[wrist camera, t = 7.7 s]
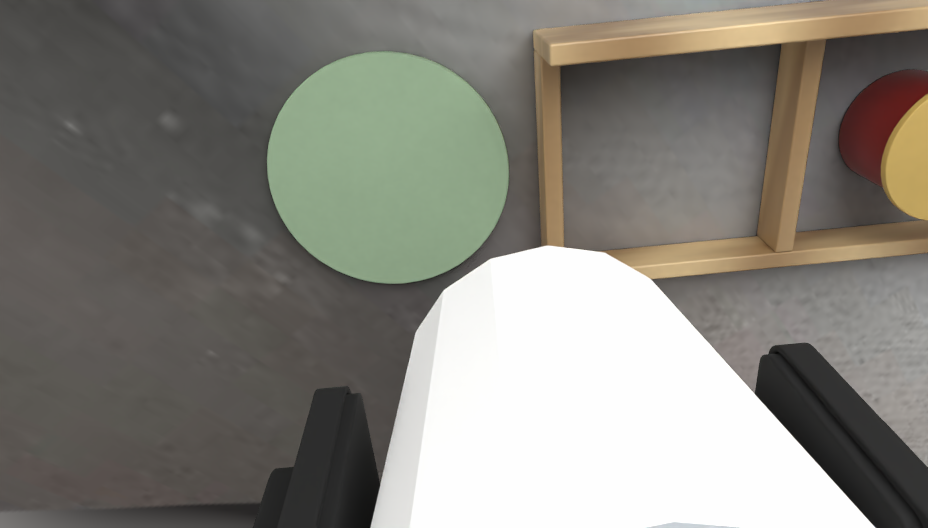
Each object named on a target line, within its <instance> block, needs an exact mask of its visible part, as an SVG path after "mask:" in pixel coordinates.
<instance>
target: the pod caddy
mask: <svg viewBox="0 0 928 528" xmlns="http://www.w3.org/2000/svg"><path fill="white" fill-rule="evenodd" d="M925 29H928V0H825V1H815V2H805V3H795V4H785V5H775V6H765V7H755V8H746V9H736V10H726V11H716V12H706V13H696V14H686V15H676V16H666V17H656V18H646V19H636V20H626V21H616V22H606V23H596V24H586V25H576V26H566V27H556V28H546V29H537V30H534V31H533V42H534V49H535V50H534V68H535V93H536V119H537V144H538V170H539V195H540V221H541V246H542V247H543V246H556V247H564V218H563V171H562V124H561V77H560V66H564V65H574V64H584V63H594V62H604V61H614V60H624V59H634V58H644V57H654V56H664V55H674V54H685V53H695V52H705V51H715V50H725V49H735V48H745V47H755V46H765V45H775V44H782V46H781V53H780V61H779V69H778V76H777V84H776V92H775V99H774V107H773V115H772V122H771V130H770V138H769V145H768V153H767V161H766V168H765V176H764V184H763V191H762V199H761V207H760V214H759V222H758V230H757V236H752V237H742V238H732V239H721V240H711V241H700V242H690V243H680V244H669V245H659V246H649V247H638V248H628V249H617V250H607V251H597V252H604V253H606V254H608V255H610V256H612V257H613V258H615V259H617V260H619V261H620V262H622V263H624V264H626V265H627V266H629V267H631V268H633V269H634V270H636V271H638V272H640V273H641V274H643V275H645V276H647V277H648V278H650V279H661V278H672V277H682V276H693V275H703V274H713V273H724V272H734V271H745V270H755V269H766V268H776V267H787V266H797V265H808V264H818V263H829V262H839V261H849V260H860V259H870V258H881V257H891V256H902V255H912V254H923V253H928V220H919V221H908V222H898V223H888V224H877V225H867V226H856V227H846V228H836V229H825V230H815V231H804V232H796V226H797V219H798V213H799V207H800V201H801V194H802V188H803V182H804V176H805V170H806V163H807V157H808V151H809V145H810V138H811V132H812V126H813V120H814V113H815V107H816V101H817V95H818V89H819V82H820V76H821V70H822V64H823V57H824V51H825V45H826V39H835V38H845V37H855V36H865V35H875V34H885V33H895V32H905V31H915V30H925Z"/></svg>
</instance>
